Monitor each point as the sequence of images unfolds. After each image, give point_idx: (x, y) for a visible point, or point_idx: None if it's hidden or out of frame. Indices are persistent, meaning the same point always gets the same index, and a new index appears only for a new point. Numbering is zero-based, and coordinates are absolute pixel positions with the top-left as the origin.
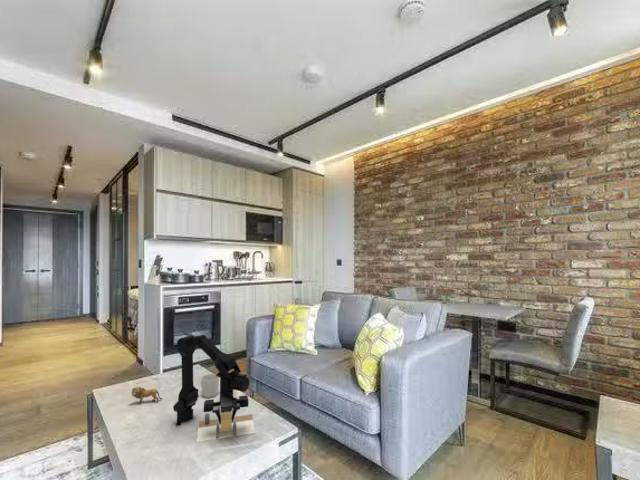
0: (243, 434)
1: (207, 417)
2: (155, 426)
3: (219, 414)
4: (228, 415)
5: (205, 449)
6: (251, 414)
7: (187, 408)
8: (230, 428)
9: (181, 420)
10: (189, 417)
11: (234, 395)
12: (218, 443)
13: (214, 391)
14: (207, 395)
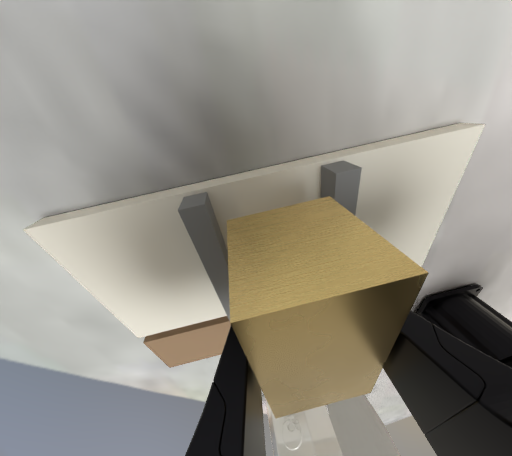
0: (124, 208)
1: None
2: None
3: (473, 387)
4: (299, 373)
5: (417, 37)
6: (172, 365)
7: (509, 365)
8: (239, 226)
9: (476, 304)
10: (446, 321)
11: (276, 429)
12: (312, 127)
13: (341, 416)
14: (356, 398)
